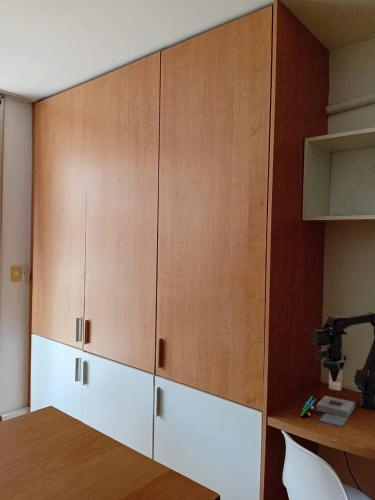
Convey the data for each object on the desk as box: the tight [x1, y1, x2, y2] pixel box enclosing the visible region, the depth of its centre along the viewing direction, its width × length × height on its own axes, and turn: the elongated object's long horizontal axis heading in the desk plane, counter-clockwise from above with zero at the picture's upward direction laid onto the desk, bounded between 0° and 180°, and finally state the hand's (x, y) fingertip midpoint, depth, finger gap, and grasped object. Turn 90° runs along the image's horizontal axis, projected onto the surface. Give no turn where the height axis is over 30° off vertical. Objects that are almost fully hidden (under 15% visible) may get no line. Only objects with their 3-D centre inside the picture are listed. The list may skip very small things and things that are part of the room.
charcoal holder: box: [316, 395, 356, 419], centre depth 168 cm, size 13×13×2 cm
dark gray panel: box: [318, 412, 349, 428], centre depth 156 cm, size 9×9×1 cm
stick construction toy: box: [300, 395, 321, 417], centre depth 163 cm, size 12×7×8 cm
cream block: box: [328, 369, 343, 392], centre depth 168 cm, size 4×4×8 cm
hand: (335, 380), depth 168 cm, fingers closed on cream block, 4 cm apart
